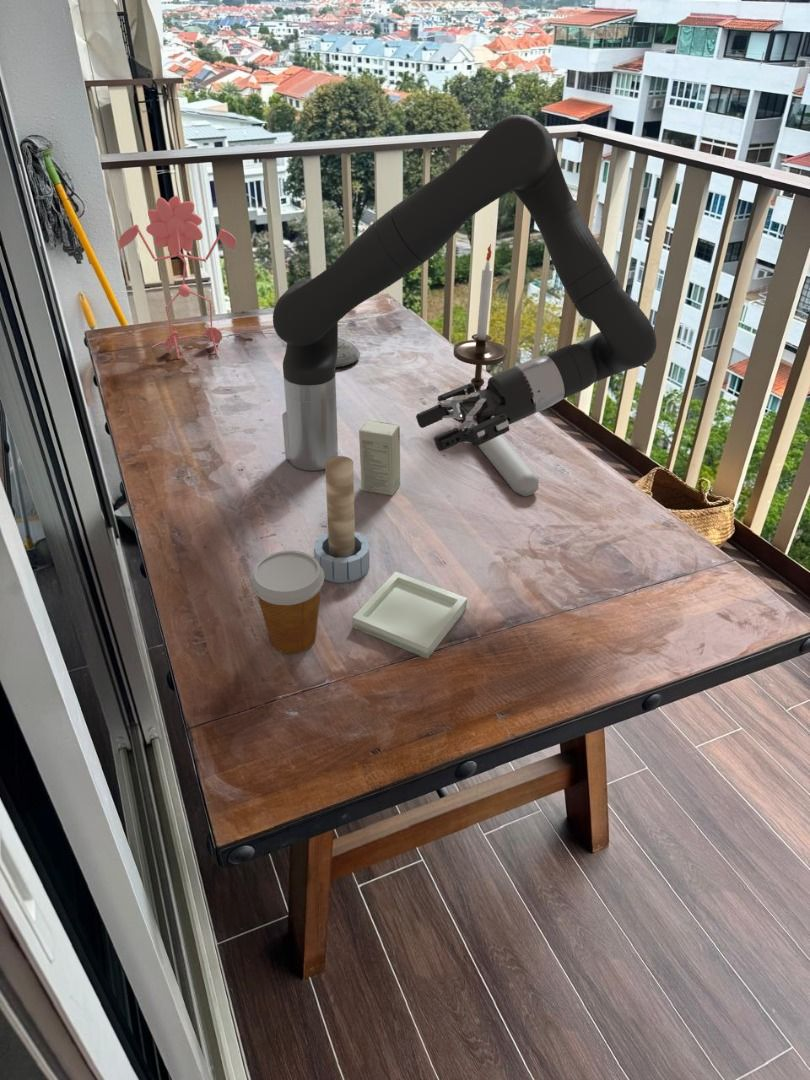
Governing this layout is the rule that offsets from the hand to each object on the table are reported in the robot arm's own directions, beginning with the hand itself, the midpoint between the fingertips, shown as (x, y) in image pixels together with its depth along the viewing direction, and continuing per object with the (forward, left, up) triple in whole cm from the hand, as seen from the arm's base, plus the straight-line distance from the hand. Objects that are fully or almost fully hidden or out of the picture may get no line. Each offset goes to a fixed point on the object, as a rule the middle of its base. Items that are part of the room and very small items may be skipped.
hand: (426, 433), depth 110 cm
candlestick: (-13, +48, -21) cm, 54 cm away
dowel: (-8, -11, -20) cm, 24 cm away
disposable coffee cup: (-5, -28, -21) cm, 35 cm away
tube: (+1, +31, -21) cm, 38 cm away
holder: (-8, -11, -21) cm, 25 cm away
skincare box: (-15, +12, -21) cm, 28 cm away
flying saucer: (-56, +56, -21) cm, 82 cm away
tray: (+7, -16, -21) cm, 27 cm away
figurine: (-89, +44, -21) cm, 101 cm away
